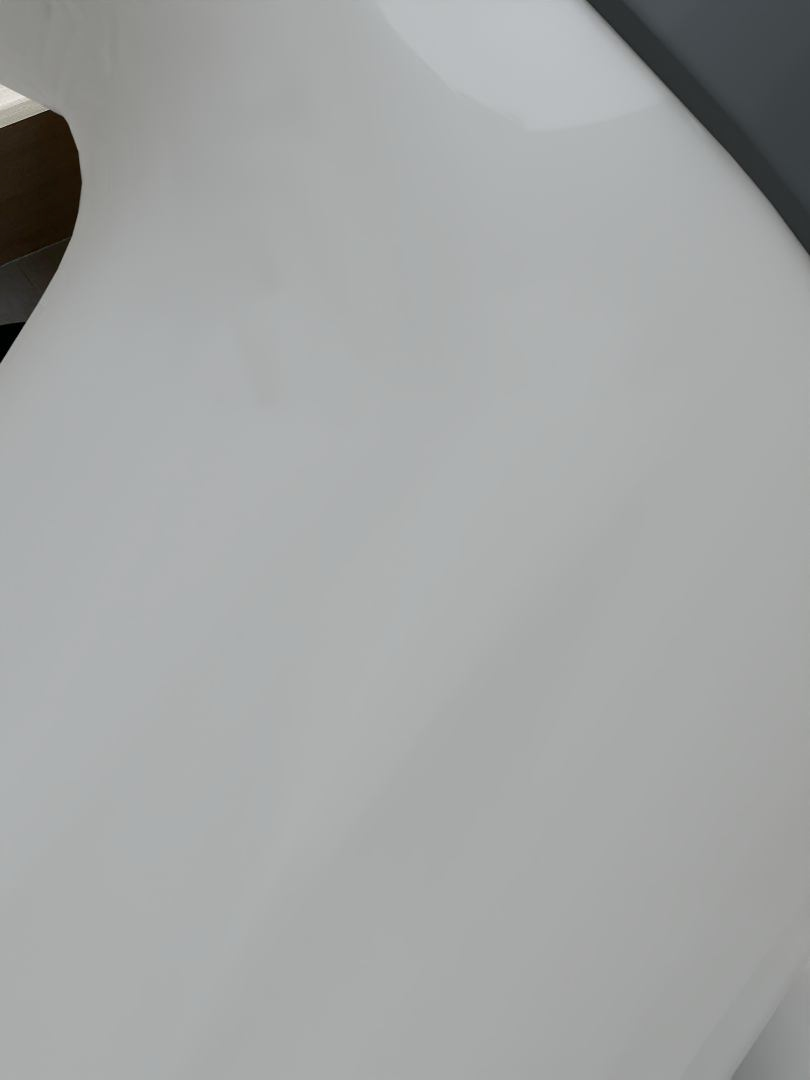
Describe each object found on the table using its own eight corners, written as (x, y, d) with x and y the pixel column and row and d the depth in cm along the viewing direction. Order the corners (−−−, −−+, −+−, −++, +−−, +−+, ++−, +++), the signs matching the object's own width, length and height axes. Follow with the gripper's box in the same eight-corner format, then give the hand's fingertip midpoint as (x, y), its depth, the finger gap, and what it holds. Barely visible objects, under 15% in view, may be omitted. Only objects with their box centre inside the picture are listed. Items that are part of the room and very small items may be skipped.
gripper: (979, 705, 20) (698, 600, 34) (60, 939, 18) (158, 724, 31) (1009, 960, 21) (723, 756, 34) (134, 1213, 19) (198, 888, 32)
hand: (449, 742), depth 33 cm, fingers open, 8 cm apart
